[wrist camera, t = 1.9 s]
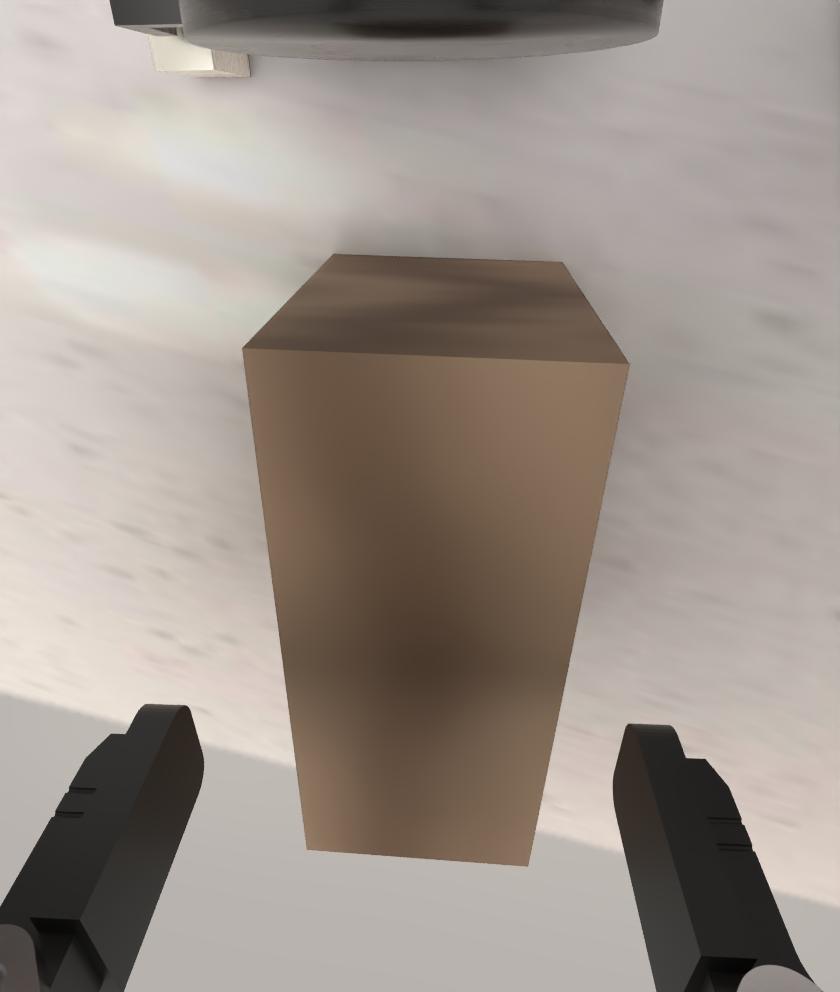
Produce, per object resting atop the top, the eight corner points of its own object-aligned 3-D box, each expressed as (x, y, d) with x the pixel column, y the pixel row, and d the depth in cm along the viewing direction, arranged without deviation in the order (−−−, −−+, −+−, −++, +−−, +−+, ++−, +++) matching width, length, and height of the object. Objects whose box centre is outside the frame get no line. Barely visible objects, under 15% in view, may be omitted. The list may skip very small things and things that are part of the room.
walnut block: (561, 261, 16) (629, 364, 10) (510, 649, 24) (528, 866, 17) (334, 253, 17) (242, 348, 10) (352, 640, 24) (307, 849, 17)
